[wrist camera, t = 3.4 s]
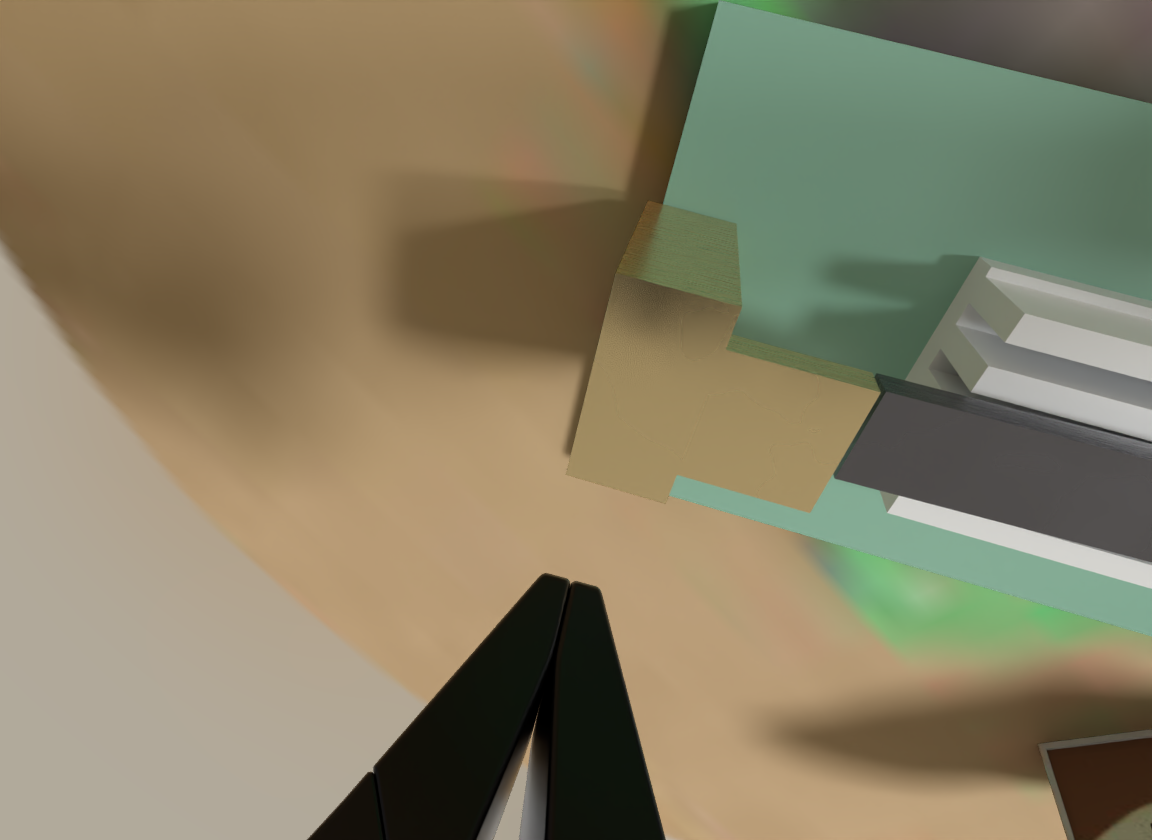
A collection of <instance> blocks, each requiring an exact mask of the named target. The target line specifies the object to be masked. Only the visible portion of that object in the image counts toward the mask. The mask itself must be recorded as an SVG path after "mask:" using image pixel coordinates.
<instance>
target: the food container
mask: <svg viewBox="0 0 1152 840" xmlns="http://www.w3.org/2000/svg"><path fill="white" fill-rule="evenodd" d="M1038 747H1039V750H1040V754H1041V757H1042V760H1043V763H1044V766H1045V770H1046V773H1047V776H1048V779H1049V782H1050V785H1051V789H1052V792H1053V795H1054V798H1055V801H1056V805H1057V808H1058V811H1059V814H1060V817H1061V820H1062V824H1063V827H1064V830H1065V833H1066V836H1067V840H1152V729H1150V730H1142V731H1134V732H1127V733H1119V734H1111V735H1103V736H1095V737H1088V738H1080V739H1072V740H1064V741H1056V742H1048V743H1041V744H1038Z"/></svg>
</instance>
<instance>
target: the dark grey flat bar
mask: <svg viewBox="0 0 1152 840" xmlns="http://www.w3.org/2000/svg"><path fill="white" fill-rule="evenodd" d="M874 378H875V380H876V382H877V385H878V387H879V389H880V392H881V393H880V395H879V397H878V398H877V400H876V402H875V403H874V405H873V407H872V409H871V410H870V412H869V414H868V415H867V417H866V419H865V420H864V422H863V424H862V426H861V427H860V429H859V431H858V432H857V434H856V436H855V437H854V439H853V441H852V443H851V444H850V446H849V448H848V449H847V451H846V453H845V454H844V456H843V458H842V460H841V461H840V463H839V465H838V466H837V468H836V470H835V471H834V473H833V475H834V478H835V479H838V480H842V481H845V482H849V483H853V484H857V485H860V486H864V487H868V488H872V489H876V490H879V491H883V492H887V493H891V494H895V495H898V496H902V497H906V498H910V499H913V500H917V501H921V502H925V503H929V504H932V505H936V506H940V507H944V508H948V509H951V510H955V511H959V512H963V513H966V514H970V515H974V516H978V517H982V518H985V519H989V520H993V521H997V522H1000V523H1004V524H1008V525H1012V526H1016V527H1019V528H1023V529H1027V530H1031V531H1035V532H1038V533H1042V534H1046V535H1050V536H1053V537H1057V538H1061V539H1065V540H1069V541H1072V542H1076V543H1080V544H1084V545H1088V546H1091V547H1095V548H1099V549H1103V550H1106V551H1110V552H1114V553H1118V554H1122V555H1125V556H1129V557H1133V558H1137V559H1141V560H1144V561H1148V562H1152V444H1149V443H1146V442H1142V441H1138V440H1134V439H1130V438H1126V437H1122V436H1118V435H1115V434H1111V433H1107V432H1103V431H1099V430H1095V429H1091V428H1087V427H1084V426H1080V425H1076V424H1072V423H1068V422H1064V421H1060V420H1057V419H1053V418H1049V417H1045V416H1041V415H1037V414H1033V413H1029V412H1026V411H1022V410H1018V409H1014V408H1010V407H1006V406H1002V405H998V404H995V403H991V402H987V401H983V400H979V399H975V398H971V397H967V396H964V395H960V394H956V393H952V392H948V391H944V390H940V389H936V388H933V387H929V386H925V385H921V384H917V383H913V382H909V381H906V380H902V379H898V378H894V377H890V376H886V375H882V374H878V373H876V375H875V377H874Z"/></svg>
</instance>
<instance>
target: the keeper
mask: <svg viewBox="0 0 1152 840" xmlns="http://www.w3.org/2000/svg"><path fill="white" fill-rule="evenodd" d="M741 309H742V296H741V282H740V267H739V252H738V237H737V223H733V222H729V221H725V220H721V219H717V218H714V217H710V216H706V215H702V214H698V213H695V212H691V211H687V210H683V209H679V208H675V207H672V206H668V205H664V204H660V203H656V202H653V201H649V200H648V202H647V204H646V206H645V209H644V211H643V213H642V215H641V218H640V220H639V222H638V224H637V226H636V229H635V231H634V233H633V235H632V238H631V240H630V242H629V244H628V246H627V249H626V251H625V253H624V255H623V258H622V260H621V262H620V264H619V266H618V269H617V271H616V273H615V277H614V281H613V285H612V290H611V294H610V298H609V302H608V306H607V310H606V314H605V318H604V322H603V326H602V330H601V334H600V338H599V342H598V346H597V350H596V354H595V358H594V362H593V366H592V371H591V375H590V379H589V383H588V387H587V391H586V395H585V399H584V403H583V407H582V411H581V415H580V419H579V423H578V427H577V431H576V435H575V439H574V443H573V448H572V452H571V456H570V460H569V464H568V468H567V472H566V475H568V476H572V477H575V478H579V479H582V480H585V481H589V482H592V483H596V484H599V485H602V486H606V487H609V488H613V489H616V490H620V491H623V492H626V493H630V494H633V495H637V496H640V497H643V498H647V499H650V500H654V501H657V502H661V503H664V504H666V502H667V499H668V497H669V494H670V491H671V489H672V486H673V484H674V481H675V479H676V476H677V475H679V476H683V477H686V478H690V479H693V480H697V481H700V482H704V483H707V484H711V485H714V486H717V487H721V488H724V489H728V490H731V491H735V492H738V493H742V494H745V495H749V496H752V497H755V498H759V499H762V500H766V501H769V502H773V503H776V504H780V505H783V506H787V507H790V508H793V509H797V510H800V511H804V512H807V513H810V512H811V511H812V509H813V507H814V505H815V504H816V502H817V500H818V499H819V497H820V495H821V494H822V492H823V490H824V488H825V487H826V485H827V483H828V482H829V480H830V478H831V477H832V475H833V473H834V471H835V470H836V468H837V466H838V465H839V463H840V461H841V460H842V458H843V456H844V454H845V453H846V451H847V449H848V448H849V446H850V444H851V443H852V441H853V439H854V437H855V436H856V434H857V432H858V431H859V429H860V427H861V426H862V424H863V422H864V420H865V419H866V417H867V415H868V414H869V412H870V410H871V409H872V407H873V405H874V403H875V402H876V400H877V398H878V397H879V395H880V393H881V392H880V389H879V387H878V385H877V382H876V380H875V378H874V376H873V373H872V372H868V371H865V370H861V369H857V368H854V367H850V366H846V365H843V364H839V363H835V362H832V361H828V360H824V359H821V358H817V357H813V356H810V355H806V354H802V353H799V352H795V351H791V350H788V349H784V348H780V347H777V346H773V345H769V344H766V343H762V342H758V341H755V340H751V339H747V338H744V337H740V336H737V335H733V334H732V332H733V330H734V327H735V324H736V322H737V319H738V317H739V314H740V312H741Z"/></svg>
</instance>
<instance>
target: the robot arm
mask: <svg viewBox="0 0 1152 840" xmlns="http://www.w3.org/2000/svg"><path fill="white" fill-rule="evenodd" d="M537 713H538V714H537ZM536 717H537V719H536ZM535 721H536V723H535ZM534 724H535V728H534ZM533 728H534V733H533V737H532V744H531V750H530V757H529V765H528V773H527V781H526V788H525V796H524V804H523V812H522V820H521V827H520V835H519V840H666V839H665V835H664V831H663V827H662V823H661V820H660V816H659V812H658V808H657V804H656V800H655V796H654V793H653V789H652V785H651V781H650V777H649V773H648V770H647V766H646V762H645V758H644V754H643V750H642V746H641V743H640V739H639V735H638V731H637V727H636V723H635V719H634V716H633V712H632V708H631V704H630V700H629V696H628V692H627V689H626V685H625V681H624V677H623V673H622V669H621V666H620V662H619V658H618V654H617V650H616V646H615V642H614V639H613V635H612V631H611V627H610V623H609V619H608V615H607V612H606V608H605V604H604V600H603V596H602V593H601V591H600V589H599V588H598V587H596V586H593V585H589V584H585V583H582V582H578V581H575V582H572V583H571V585H570V581H569V580H568V579H566V578H563V577H559V576H556V575H552V574H548V573H544V574H542V575H541V576H539V578H538V579H537V580H536V581H535V582H534V583H533V584H532V585H531V587H530V588H529V589H528V590H527V591H526V592H525V594H524V595H523V596H522V597H521V598H520V599H519V600H518V602H517V603H516V604H515V605H514V606H513V607H512V608H511V610H510V611H509V612H508V613H507V614H506V615H505V616H504V618H503V619H502V620H501V621H500V622H499V623H498V624H497V626H496V627H495V628H494V629H493V630H492V631H491V632H490V634H489V635H488V636H487V637H486V638H485V639H484V640H483V642H482V643H481V644H480V645H479V646H478V647H477V648H476V650H475V651H474V652H473V653H472V654H471V655H470V656H469V658H468V659H467V660H466V661H465V662H464V663H463V664H462V666H461V667H460V668H459V669H458V670H457V671H456V672H455V674H454V675H453V676H452V677H451V678H450V679H449V680H448V682H447V683H446V684H445V685H444V686H443V687H442V688H441V690H440V691H439V692H438V693H437V694H436V695H435V697H434V698H433V699H432V700H431V701H430V702H429V703H428V705H427V706H426V707H425V708H424V709H423V710H422V711H421V713H420V714H419V715H418V716H417V717H416V718H415V719H414V721H413V722H412V723H411V724H410V725H409V726H408V728H407V729H406V730H405V731H404V732H403V733H402V734H401V736H400V737H399V738H398V739H397V740H396V741H395V742H394V743H393V745H392V746H391V747H390V748H389V749H388V750H387V751H386V753H385V754H384V755H383V756H382V757H381V758H380V759H379V761H378V762H377V763H376V764H375V765H374V767H373V772H368V773H367V774H366V775H365V776H364V777H363V778H362V780H361V781H360V782H359V783H358V784H357V785H356V786H355V788H354V789H353V790H352V791H351V792H350V793H349V794H348V796H347V797H346V798H345V799H344V800H343V801H342V802H341V803H340V804H339V806H338V807H337V808H336V809H335V810H334V811H333V812H332V813H331V814H330V815H329V816H328V818H327V819H326V820H325V821H324V822H323V823H322V824H321V825H320V826H319V827H318V828H317V829H316V830H315V832H314V833H313V834H312V835H311V836H310V837H309V838H308V839H307V840H493V839H494V836H495V834H496V831H497V828H498V825H499V823H500V820H501V817H502V815H503V812H504V809H505V806H506V804H507V801H508V799H509V796H510V793H511V791H512V788H513V785H514V783H515V780H516V777H517V774H518V772H519V769H520V766H521V764H522V761H523V758H524V756H525V753H526V750H527V747H528V744H529V741H530V738H531V735H532V732H533Z"/></svg>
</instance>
